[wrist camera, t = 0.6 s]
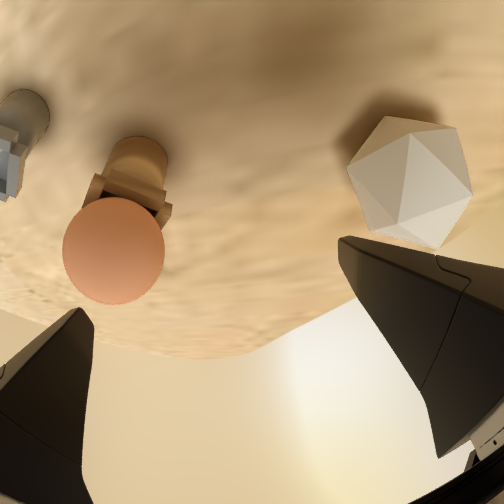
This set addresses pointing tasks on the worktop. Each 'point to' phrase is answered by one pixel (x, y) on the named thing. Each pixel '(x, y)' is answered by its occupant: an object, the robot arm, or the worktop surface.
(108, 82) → the worktop surface
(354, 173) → the die
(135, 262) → the peach ball
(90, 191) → the oak cup
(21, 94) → the slate cup
